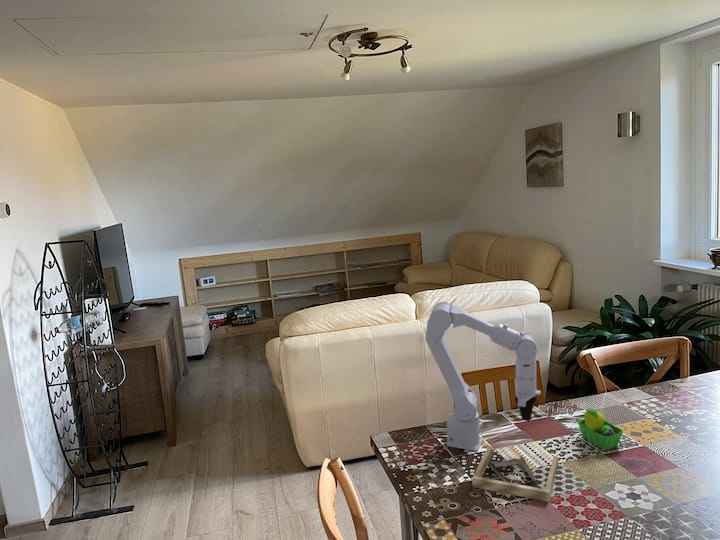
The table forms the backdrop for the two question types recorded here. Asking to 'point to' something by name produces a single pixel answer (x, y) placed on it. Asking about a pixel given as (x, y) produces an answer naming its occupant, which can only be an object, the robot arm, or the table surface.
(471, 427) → the robot arm
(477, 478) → the frame
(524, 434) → the table surface
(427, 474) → the table surface
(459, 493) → the table surface
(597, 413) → the fruit basket
